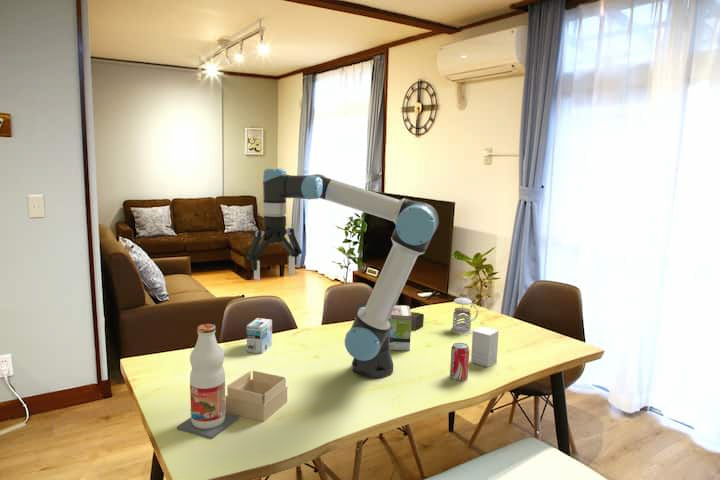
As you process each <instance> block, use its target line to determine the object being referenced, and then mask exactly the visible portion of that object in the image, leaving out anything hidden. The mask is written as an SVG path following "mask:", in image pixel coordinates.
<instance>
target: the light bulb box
mask: <svg viewBox="0 0 720 480" xmlns="http://www.w3.org/2000/svg"><path fill="white" fill-rule="evenodd" d="M272 345H273V320H272V319H268V318H260V317H257V318H255V319H254V320H253V321H251V322H250V323H248V324H247V325H246V352H247V353H255V354H263V353H265V351H267V350H268V349H269V348H270V347H271V346H272Z"/></svg>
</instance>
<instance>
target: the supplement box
mask: <svg viewBox="0 0 720 480" xmlns="http://www.w3.org/2000/svg"><path fill="white" fill-rule="evenodd" d="M471 339H472V340H471V352H470V353H471V357H470V362H471V363H473V364H476V365H480V366H483V367H487V368H489V367H491V366H492V365H494V364H496V363H497V361H498V359H497V358H498V346H499V330H496V329H493V328H490V327H489V328H488V327H485V326H480V327H478V328H476V329H474V330H472V337H471Z"/></svg>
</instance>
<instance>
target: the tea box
mask: <svg viewBox="0 0 720 480" xmlns="http://www.w3.org/2000/svg"><path fill="white" fill-rule="evenodd" d="M410 308H411V307H410V306H409V305H398V304H395V307H394V309H393V311H392V313H391V319H390V343H389V351H410V349H411V336H412V334H411V333H412V329H411V321H412V315H411V312H412V311H411V309H410Z"/></svg>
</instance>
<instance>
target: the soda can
mask: <svg viewBox="0 0 720 480" xmlns="http://www.w3.org/2000/svg"><path fill="white" fill-rule="evenodd" d="M450 351H451V352H450V364H449V365H450V366H449V376H450V377H451V378H452V379H453V378H454V379H453V380H455V379H456V381H466V380H467V379H468V378H469V366H470V365H469V364H470V351H471V350H470V347H469V345H468V343H464V342H455V343H453V344H452V345H451V350H450Z"/></svg>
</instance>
